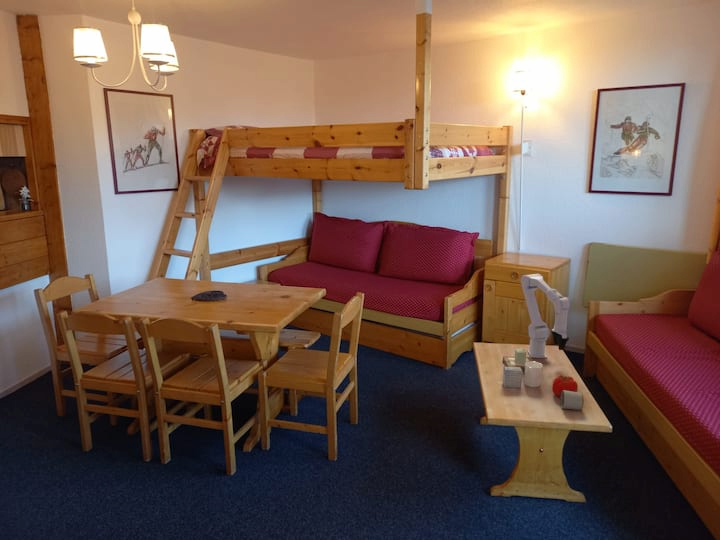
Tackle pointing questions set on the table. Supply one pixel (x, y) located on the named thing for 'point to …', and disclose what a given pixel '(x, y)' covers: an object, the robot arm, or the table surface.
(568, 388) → the tomato
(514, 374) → the medicine box
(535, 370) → the white cup
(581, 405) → the grey cylinder
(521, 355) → the sage block
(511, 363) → the plinth
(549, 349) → the table surface
